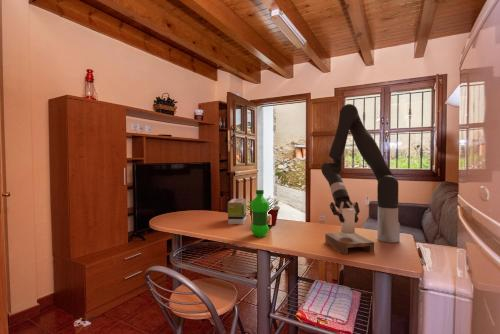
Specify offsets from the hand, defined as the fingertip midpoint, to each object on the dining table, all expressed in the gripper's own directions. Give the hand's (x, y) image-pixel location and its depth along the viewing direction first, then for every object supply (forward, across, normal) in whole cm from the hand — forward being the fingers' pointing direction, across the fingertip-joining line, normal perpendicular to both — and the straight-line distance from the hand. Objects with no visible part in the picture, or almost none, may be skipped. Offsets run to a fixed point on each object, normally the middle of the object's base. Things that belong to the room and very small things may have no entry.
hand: (349, 221), depth 122 cm
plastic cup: (-23, -29, +42) cm, 56 cm away
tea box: (-30, -51, +50) cm, 77 cm away
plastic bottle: (-8, -39, +27) cm, 48 cm away
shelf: (+8, 0, +10) cm, 13 cm away
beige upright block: (+3, 0, +5) cm, 6 cm away
